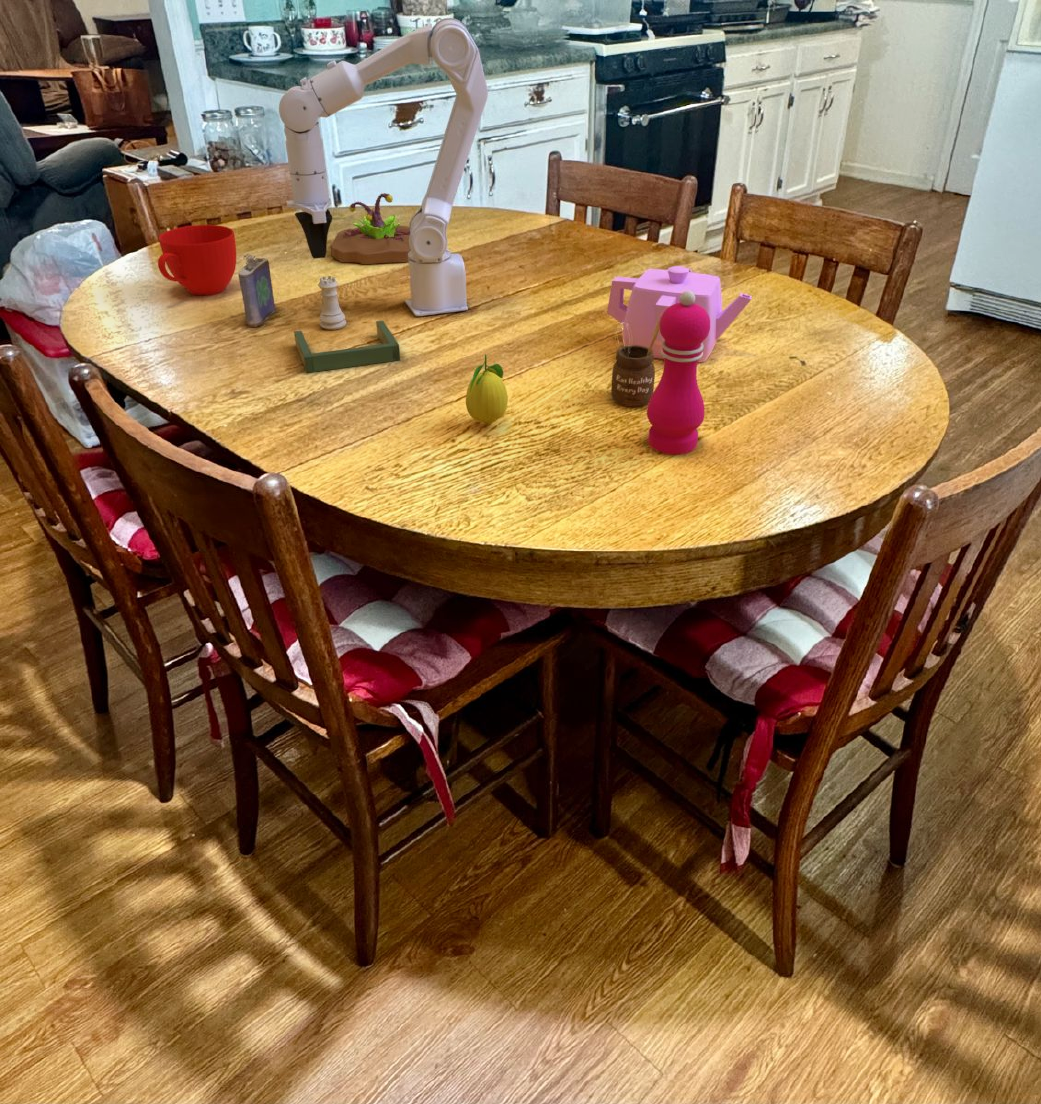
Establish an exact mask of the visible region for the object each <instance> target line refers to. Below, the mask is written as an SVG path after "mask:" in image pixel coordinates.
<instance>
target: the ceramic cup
mask: <svg viewBox="0 0 1041 1104" xmlns="http://www.w3.org/2000/svg"><path fill="white" fill-rule="evenodd" d="M158 242H159V246H160V249H161V252H162V254H161V255H160V256H159V257H158V261H157V265H158V270H159V272H160V274H161V275H162V276H163V277H164V278H165V279H167V280H169V281H172V282H176V283H178V284H180V285H181V287H182V288H184V289H185V290H187V292H189V293H190V294H191V295H194V296H211V295H216V294H220V293H222V292H224V291H225V290H227V287H228V286H229V284H230V282H231V281H232V278H233V277H234V275H235V272H236V267H237V245H236V236H235V232H234V230H233V229H232V228H230V227H229V226H228V227H227V226H224V225H218V224H217V225H216V224H196V225H194V224H193V225H187V226H180V227H177V228H171V229H170V230H167V231H164V232H162V233H161V234H159V236H158ZM166 266H167V267H166ZM167 268H168V270H169V272H170V273H171V274H170V273H169V272H168V270H167Z"/></svg>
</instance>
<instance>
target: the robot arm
mask: <svg viewBox="0 0 1041 1104" xmlns="http://www.w3.org/2000/svg"><path fill="white" fill-rule="evenodd" d="M431 58H432V59H433V61H434V62H435V64H436V65H437V66H438V67H439V68H440V70H441V71H442V72H444V73H445V75H446V76H447V77H448V80H449V82H450V84H451V86H452V88H453V90H454V92H455V94H456V95H455V98H454V102H453V104H452V107H451V111H450V115H449V118H448V121H447V124H446V127H445V131H444V134H443V137H442V139H441V144H440V147H439V150H438V153H437V156H436V160H435V162H434V166H433V169H432V173H431V176H430V180H429V183H428V186H427V189H426V192H425V193H424V196H423V199H422V201H421V205H420V207H419V209H418V210H417V211H416V212H415V213H414V214H413V216H411V218H410V222H409V226H408V227H409V231H410V237H409V245H410V249H411V251H410V252H409V253H408V262H407V263H408V277H409V287H410V288H409V289H410V298H408V299H407V298H406V299H405V300H404V302H405V304H406V305H407V307H408V308H409V310H410V311H411V313H412V314H413V315H414V316H415V317H423V316H424V317H425V316H431V315H441V314H448V313H455V312H465V311H468V310H469V307H468V301H467V299H468V298H467V274H466V267H465V262H464V261H465V260H464V259H463V257H462V255H461V254H460V253H451V251H450V249H449V248H448V236H447V232H448V231H447V230H448V226H449V223H450V219H451V214H452V210H453V209H452V208H453V205H454V201H455V199H456V195H457V193H458V189H459V186H460V183H461V180H462V177H463V174H464V170H465V168H466V165H467V162H468V159H469V155H470V152H471V150H472V146H473V143H474V140H475V137H476V134H477V131H478V128H479V125H480V121H481V119H482V115H483V112H484V109H485V106H486V103H487V100H488V98H489V97H488V96H489V89H488V85H487V81H486V80H487V79H486V76H485V72H484V67H483V64H482V59H481V54H480V50H479V48H478V45H477V44H476V42H475V40H474V38H472V35H471V34H470V32H469V31H468V28H467V27H466V25H465V24H464V23H463V22H462V21H461V20H459V19H456V18H453V17H445V18H442V19H440V20H438V21H437V22H436V23H435V24H434V25H432V24H428V25H424V26H422V27H419V28H417V29H415V30H413V31H409V32H408V33H405V35H403V36H401V37H399V38H397V39H396V40H395V41H393V42H391V43H388V44H387V45H386V46H384V47H382V48H381V49H380V50H377V51H376V52H375V53H373V54H371V55H369V56H368V57H366V58H365V59H362V60H361V61H359V62H357V63H356V64H354V63H350V62H348V61H346V60H341V61H339V62H338V63H337V62H336V60H335V59H334V60H333V59H332V61H329V62H328V63H327V64H326V67H327V68H326V69H325V70H323V71H321V72H319V73H317V74H316V75H314V76H312V77H310V78H307V77H306V76H305V77H303V78H302V79H300V80H299V84H300V85H301V86H300V85H296V86H292V87H290V88H289V89H288V90H287V91H286V92H285V93H284V94H283V96H282V97H281V98H280V100H279V104H278V114H279V118H280V120H281V122H282V123H283V124H284V136H285V150H286V156H287V164H288V171H289V178H290V184H291V185H290V186H291V192H292V199H289V200H286V202H285V203H286V207H287V208H289V209H290V208H295V209H297V210H300V211H298V212H295V213H294V216H295V218H296V220H297V221H298V223H299V224H300V226H301V228H302V231H303V233H304V237H305V239H306V243H307V246H308V249H309V252H310V255H311V257H312V259H313V260H314V259H315V260H316V259H324V258H326V256H327V247H328V236H329V230H330V227H331V224H332V221H333V215H332V214H331V211H330V210H329V208H330V206H331V205H332V199H331V198H330V194H329V193H330V192H329V186H328V176H327V170H326V169H327V168H326V159H325V151H324V143H323V139H322V137H321V131H320V130H321V128H320V123H319V121H318V120H319V118H329V117H330V116H333V115H335V114H336V113H338V112H341V111H342V110H344V109H345V108H348V107H349V106H351V105H352V104H355V103H356V102H359V101H360V100H362V99H363V96H364V91H365V87H366V86H368V85H369V84H372V83H374V82H376V81H377V80H380V79H382V78H384V77H385V76H388V75H391V74H392V73H394V72H396V71H398V70H400V69H401V68H404V67H405V66H408V65H410V64H415V65H421V66H431V60H430V59H431Z"/></svg>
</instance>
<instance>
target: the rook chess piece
mask: <svg viewBox="0 0 1041 1104" xmlns="http://www.w3.org/2000/svg"><path fill="white" fill-rule="evenodd" d="M317 286H318V288H319V289H320V290H321V293H320V296H321V297H322V308H321V311H320V315H319V317H318V318H319V321H320V322H319V326H320V327H321V328H322V329H323V330H327V331H336V330H337V331H338V330H339V329H340V330H341V329H343V328H344V327H345V326H346V324H347V320H345V319H346V315H345V313H344V312H343V310H342V309H341V308H340V304H339V300H338V294H339V292H338V291H337V287H338V286H339V282H338V281H336V277H335V276H331V275H328V276H322V277H320V278H319V283H318V284H317Z"/></svg>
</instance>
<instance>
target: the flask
mask: <svg viewBox="0 0 1041 1104" xmlns="http://www.w3.org/2000/svg"><path fill="white" fill-rule="evenodd" d="M242 258H243V259H245V258H246V262H245V264H246V265H244V266H243V267H242V268H241V269H240V270H239V272H238V281H239V285H240V291H241V296H242V303H243V309H244V315H245V321H246V325H247V327H249V328H252V327H253V328H257V327H259V326H262V325H263V324H264V322H265V321H267V320H268V319H269V317H271V316H272V314H274V313H275V312H276V311H277V310H276V305H275V297H274V290H273V283H272V276H271V270H270V262H269V259H268V258H263V257H256V256H255V255H254V256H253V255H252V254H248V253H246V254H245V255H243V257H242Z"/></svg>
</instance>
